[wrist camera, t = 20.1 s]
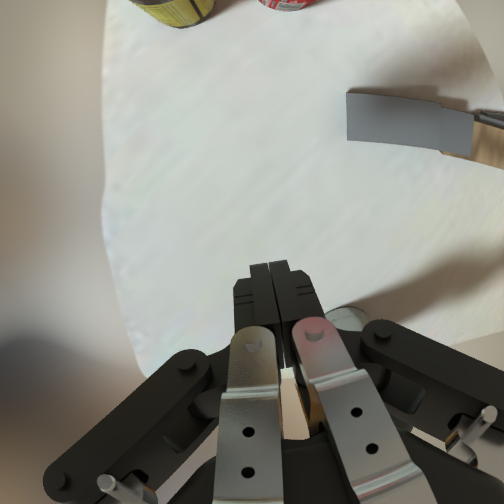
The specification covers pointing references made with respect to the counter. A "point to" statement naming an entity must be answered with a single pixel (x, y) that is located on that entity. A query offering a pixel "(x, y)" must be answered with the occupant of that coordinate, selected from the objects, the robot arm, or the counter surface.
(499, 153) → the domino
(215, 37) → the counter surface
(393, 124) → the domino
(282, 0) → the soda can
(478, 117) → the domino
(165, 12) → the sauce bottle
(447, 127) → the domino
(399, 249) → the counter surface
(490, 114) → the domino
